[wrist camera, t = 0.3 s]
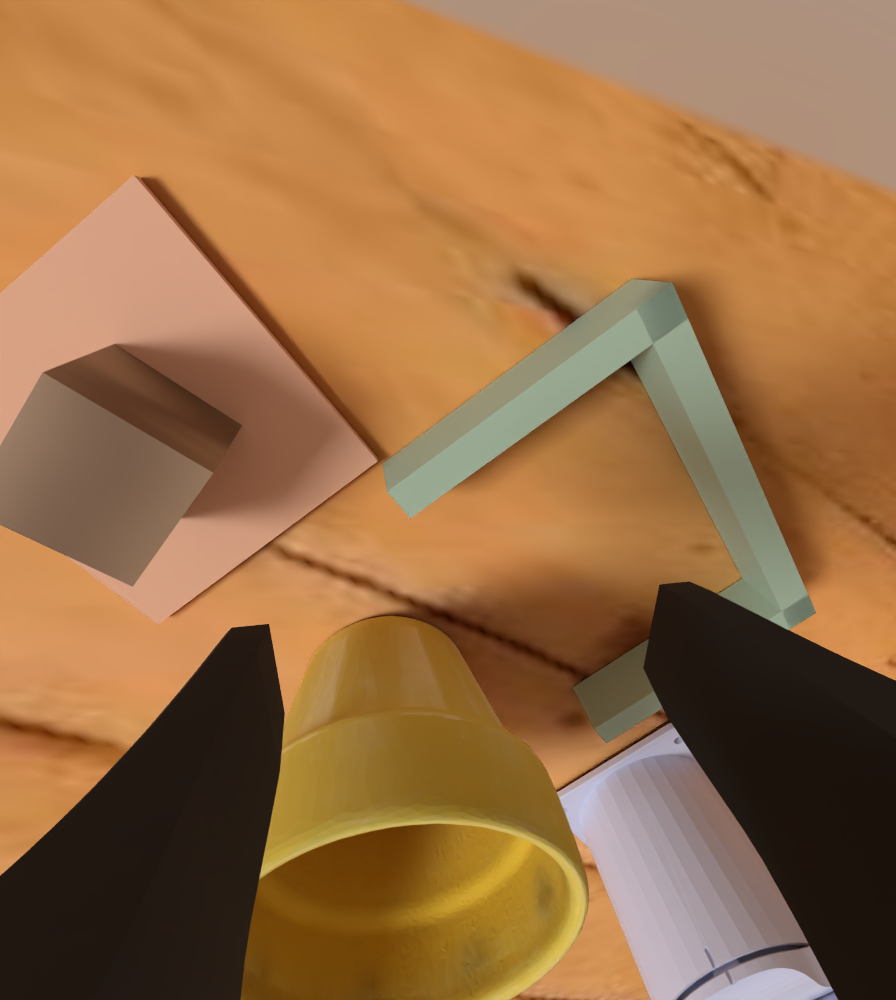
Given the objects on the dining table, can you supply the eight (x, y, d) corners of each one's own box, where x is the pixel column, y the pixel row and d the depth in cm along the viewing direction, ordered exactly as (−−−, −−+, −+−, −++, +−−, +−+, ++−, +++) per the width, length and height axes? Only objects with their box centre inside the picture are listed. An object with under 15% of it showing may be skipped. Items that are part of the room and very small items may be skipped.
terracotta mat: (377, 457, 18) (377, 461, 18) (161, 617, 19) (158, 624, 19) (139, 176, 14) (133, 175, 14) (-120, 405, 15) (-131, 409, 15)
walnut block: (242, 425, 17) (213, 472, 13) (176, 518, 18) (132, 586, 14) (114, 343, 15) (42, 372, 12) (49, 450, 16) (-36, 507, 12)
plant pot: (242, 761, 23) (178, 1071, 14) (270, 559, 19) (205, 815, 11) (467, 768, 26) (528, 1033, 17) (531, 590, 22) (653, 816, 13)
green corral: (774, 580, 24) (816, 612, 22) (584, 701, 25) (606, 743, 23) (631, 278, 17) (672, 282, 15) (382, 463, 18) (387, 491, 16)
